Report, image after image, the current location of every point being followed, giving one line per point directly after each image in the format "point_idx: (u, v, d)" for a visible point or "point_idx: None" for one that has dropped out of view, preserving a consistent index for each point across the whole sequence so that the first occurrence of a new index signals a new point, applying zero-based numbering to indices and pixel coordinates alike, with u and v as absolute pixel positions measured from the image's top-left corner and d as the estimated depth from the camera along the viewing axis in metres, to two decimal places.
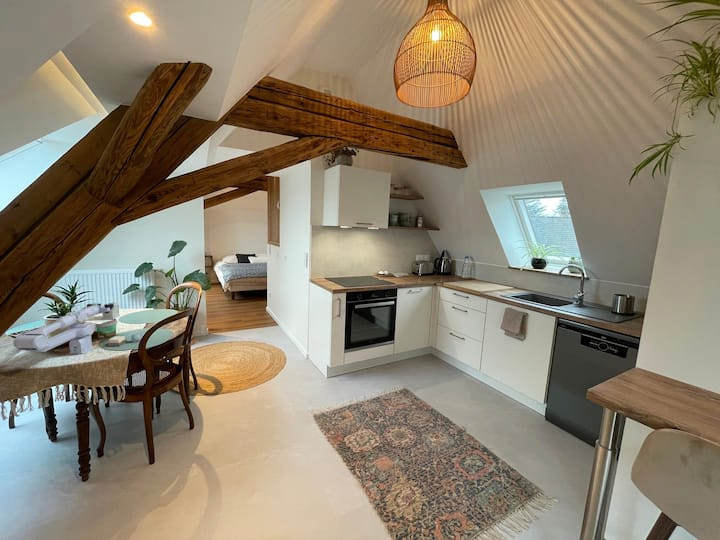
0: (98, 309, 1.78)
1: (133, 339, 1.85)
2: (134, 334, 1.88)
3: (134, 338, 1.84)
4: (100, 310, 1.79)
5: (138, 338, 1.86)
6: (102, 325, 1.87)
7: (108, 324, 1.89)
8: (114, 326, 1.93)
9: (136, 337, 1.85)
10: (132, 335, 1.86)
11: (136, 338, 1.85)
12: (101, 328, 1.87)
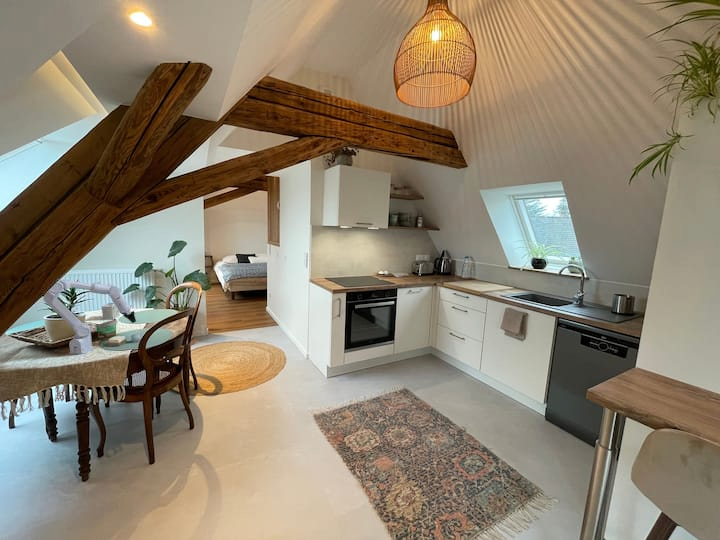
0: (126, 308, 1.83)
1: (133, 339, 1.85)
2: (134, 334, 1.88)
3: (134, 338, 1.84)
4: (125, 310, 1.83)
5: (138, 338, 1.86)
6: (102, 325, 1.87)
7: (108, 324, 1.89)
8: (114, 326, 1.93)
9: (136, 337, 1.85)
10: (132, 335, 1.86)
11: (136, 338, 1.85)
12: (101, 328, 1.87)
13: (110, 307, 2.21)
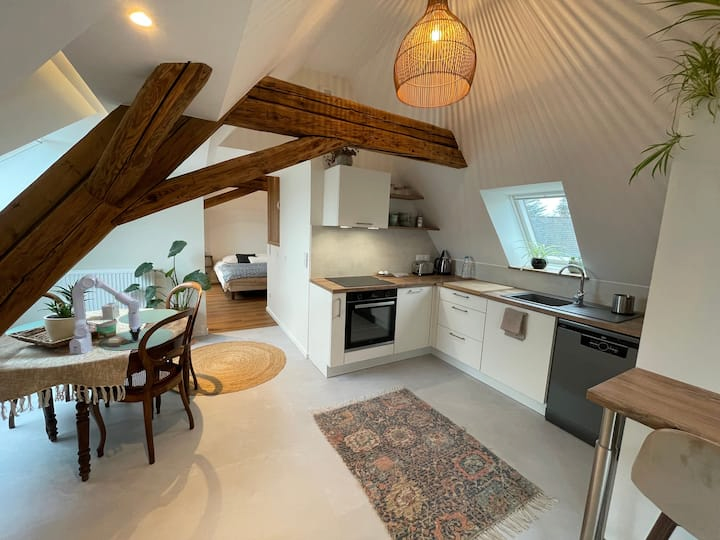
0: (135, 325, 1.83)
1: None
2: None
3: None
4: (134, 327, 1.83)
5: (138, 338, 1.86)
6: (102, 325, 1.87)
7: (108, 324, 1.89)
8: (114, 326, 1.93)
9: None
10: None
11: None
12: (101, 328, 1.87)
13: (110, 307, 2.21)
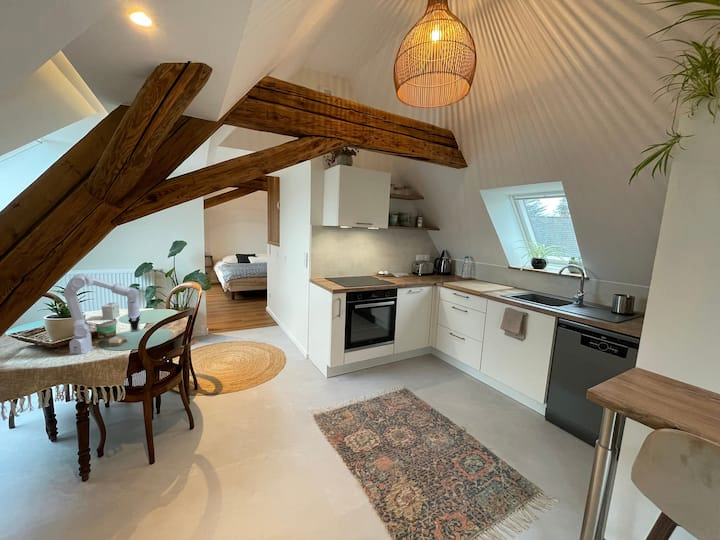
0: (135, 314, 1.82)
1: None
2: None
3: None
4: (133, 316, 1.82)
5: None
6: (102, 325, 1.87)
7: (108, 324, 1.89)
8: (114, 326, 1.93)
9: None
10: None
11: None
12: (101, 328, 1.87)
13: (110, 307, 2.21)
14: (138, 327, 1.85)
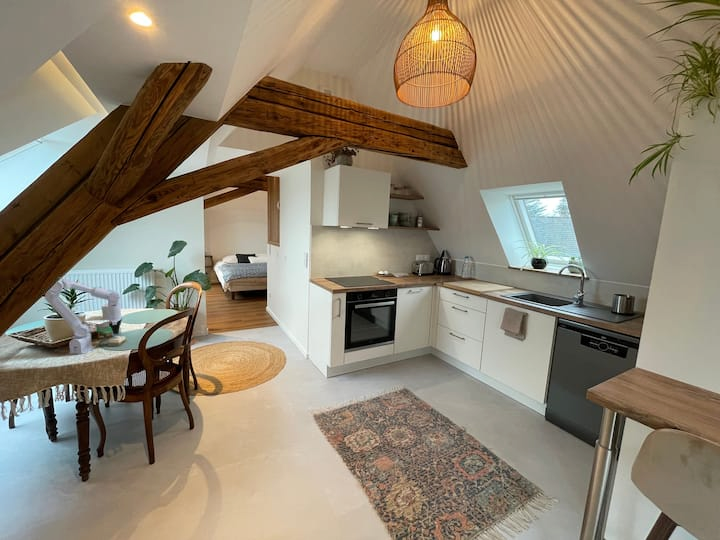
0: (116, 318, 1.77)
1: None
2: None
3: None
4: (114, 319, 1.77)
5: (119, 331, 1.80)
6: (102, 325, 1.87)
7: (108, 324, 1.89)
8: None
9: None
10: None
11: None
12: (101, 328, 1.87)
13: None
14: (119, 331, 1.80)
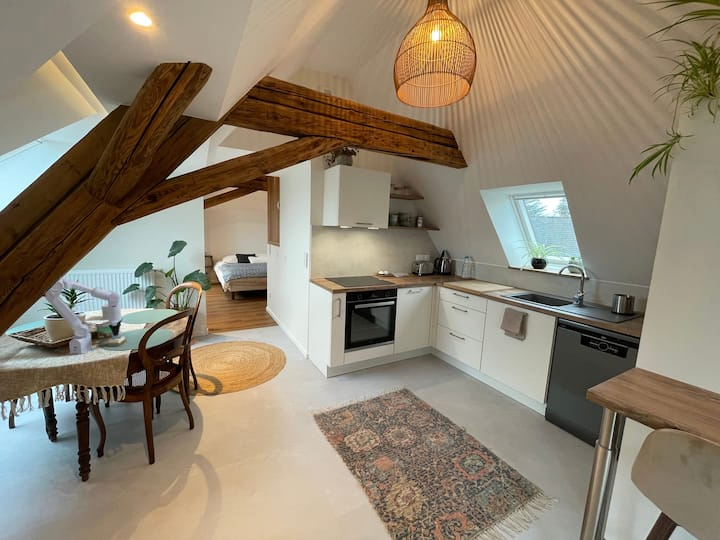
0: (116, 318, 1.77)
1: (113, 336, 1.79)
2: None
3: None
4: (114, 320, 1.77)
5: (119, 335, 1.80)
6: (102, 325, 1.87)
7: (108, 324, 1.89)
8: None
9: None
10: None
11: None
12: (101, 328, 1.87)
13: None
14: (120, 334, 1.81)
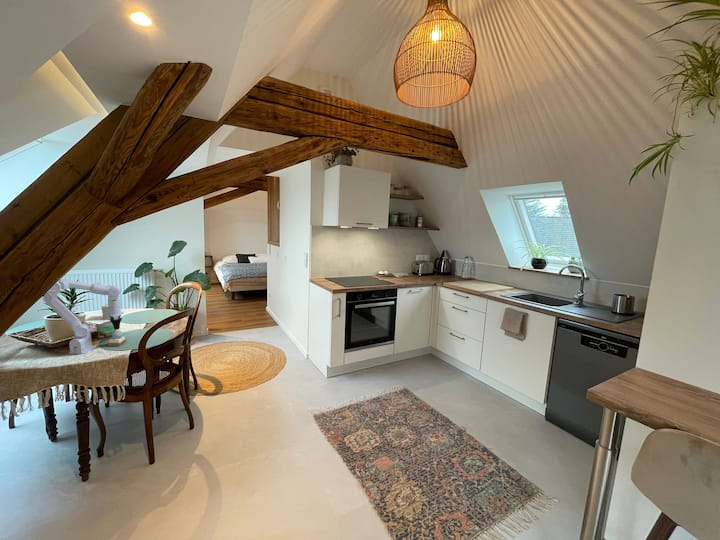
0: (116, 312, 1.77)
1: (114, 336, 1.79)
2: None
3: (114, 335, 1.79)
4: (114, 314, 1.77)
5: (119, 335, 1.80)
6: (102, 325, 1.87)
7: (108, 324, 1.89)
8: None
9: (117, 334, 1.79)
10: None
11: (117, 334, 1.79)
12: (101, 328, 1.87)
13: None
14: (120, 334, 1.81)
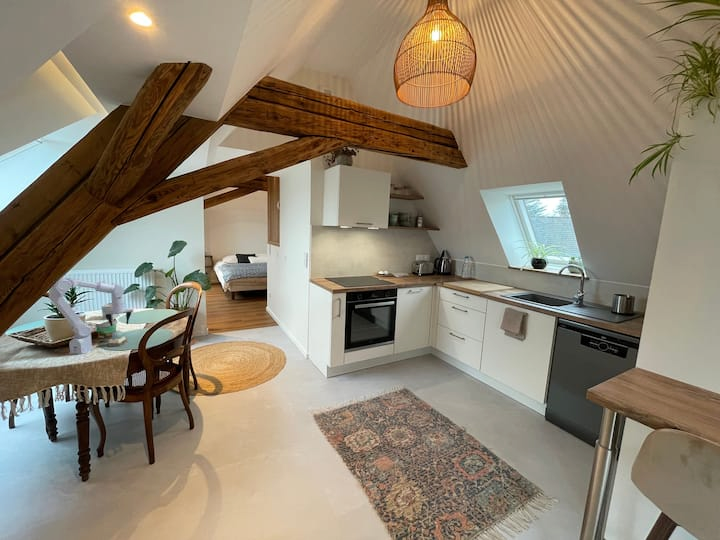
0: None
1: (114, 336, 1.78)
2: (115, 331, 1.82)
3: (114, 335, 1.78)
4: (124, 310, 1.85)
5: (119, 335, 1.80)
6: (102, 325, 1.87)
7: (108, 324, 1.89)
8: (114, 326, 1.93)
9: (117, 334, 1.79)
10: (113, 332, 1.80)
11: (117, 335, 1.79)
12: (101, 328, 1.87)
13: (110, 307, 2.21)
14: (120, 334, 1.80)
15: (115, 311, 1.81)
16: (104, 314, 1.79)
